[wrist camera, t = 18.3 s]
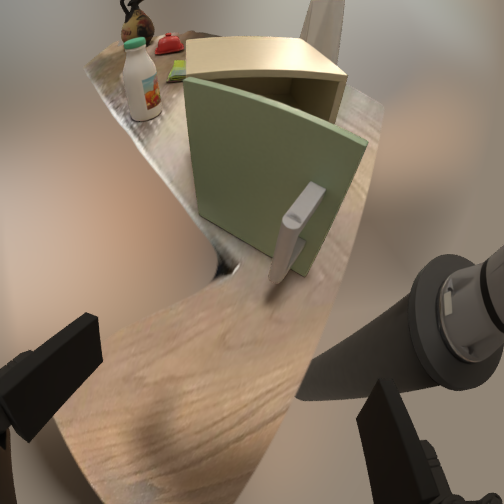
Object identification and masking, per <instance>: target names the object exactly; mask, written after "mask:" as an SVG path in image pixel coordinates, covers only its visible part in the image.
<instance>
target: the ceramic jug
mask: <svg viewBox="0 0 504 504" xmlns="http://www.w3.org/2000/svg"><path fill="white" fill-rule="evenodd" d="M142 1H143V0H131V1H130V2H129V3H128V6H131V10H130V12H129V11H128V10H127V8H126V6H125V4H124V0H120V5H121V7H122V9H123V11H124V12H125V14H126V16H125V22H124V25H123V27H122V31H121V38H122V41H123V42H124V43H125V42H126V41H128V40H131V39H134V38H139V37H144V38H145V40H146V46H148V45H150V44H149V43H150V41H151V39H152V37H153V35H154V26H153V23H152V21H151V19H150V18H149V17H148V16H147V15H146V14H145V13H144V12H143V11H142V10H140V9H139V6H138V4H139V3H140V2H142ZM146 46H145V47H146Z"/></svg>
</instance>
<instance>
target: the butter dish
mask: <svg viewBox="0 0 504 504" xmlns="http://www.w3.org/2000/svg"><path fill="white" fill-rule="evenodd" d="M165 35H166V37H164V38H161V39H160V40H159V42H158V48H156V50H155V54H166V53H172V52H178V51H180V50H183V49H184V46H183V44H182V43H180V40H179V37H177V36H171V33H166V34H165Z"/></svg>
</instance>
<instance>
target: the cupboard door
mask: <svg viewBox="0 0 504 504" xmlns="http://www.w3.org/2000/svg"><path fill="white" fill-rule="evenodd" d="M183 87H184V98H185V108H186V118H187V127H188V136H189V144H190V152H191V160H192V168H193V176H194V183H195V190H196V197H197V204H198V210H199V215H201V216H202V217H204V218H206V219H207V220H209V221H211V222H212V223H214V224H216V225H218V226H219V227H221V228H223V229H224V230H226V231H228V232H229V233H231V234H233V235H235V236H236V237H238V238H240V239H241V240H243V241H245V242H246V243H248V244H250V245H251V246H253V247H255V248H257V249H258V250H260V251H262V252H263V253H265V254H267V255H268V256H270V257H272V258H273V259H272V263H271V267H270V271H269V275H268V277H269V280H270V281H271V282H272V283H280V282H281V281H282V280H283V278H284V277H285V275H286V274H287V272H288V271H289V269H292V270H294V271H295V272H297V273H299V274H300V275H302V276H304V277H306V275H307V273H308V272H309V270H310V268H311V266H312V264H313V262H314V260H315V258H316V256H317V254H318V252H319V250H320V248H321V246H322V244H323V242H324V240H325V238H326V236H327V234H328V232H329V230H330V228H331V225H332V223H333V221H334V219H335V217H336V215H337V213H338V211H339V209H340V206H341V204H342V202H343V200H344V198H345V195H346V193H347V191H348V189H349V187H350V184H351V182H352V180H353V178H354V175H355V173H356V171H357V168H358V166H359V164H360V161H361V159H362V157H363V154H364V152H365V150H366V147H367V145H368V141H367V140H365V139H363V138H361V137H359V136H357V135H355V134H353V133H351V132H349V131H347V130H345V129H343V128H341V127H338V126H336V125H334V124H332V123H330V122H327V121H325V120H323V119H320V118H318V117H316V116H313V115H311V114H309V113H306V112H304V111H301V110H298V109H296V108H293V107H291V106H288V105H285V104H283V103H280V102H277V101H274V100H271V99H268V98H265V97H262V96H259V95H256V94H253V93H250V92H247V91H243V90H240V89H237V88H233V87H230V86H226V85H222V84H218V83H215V82H211V81H206V80H202V79H198V78H193V77H188V78H186V79H184V80H183Z"/></svg>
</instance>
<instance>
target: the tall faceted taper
mask: <svg viewBox="0 0 504 504" xmlns="http://www.w3.org/2000/svg"><path fill="white" fill-rule="evenodd" d="M344 5H345V0H311V2H310V5H309V8H308V11H307V15H306V18H305V22H304V25H303V28H302V32H301V35H300V38H299V39H302V40H304V41H305V42H307V43H308V44H309V45H311V46H312V47H313V48H315V49H316V50H317V51H319V52H320V53H321V54H323V55H324V56H325V57H326V58H328V59H329V60H330V61H331V62H333V63H334V64H335V65H336V66H337V61H338V54H339V47H340V39H341V31H342V23H343V14H344Z"/></svg>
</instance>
